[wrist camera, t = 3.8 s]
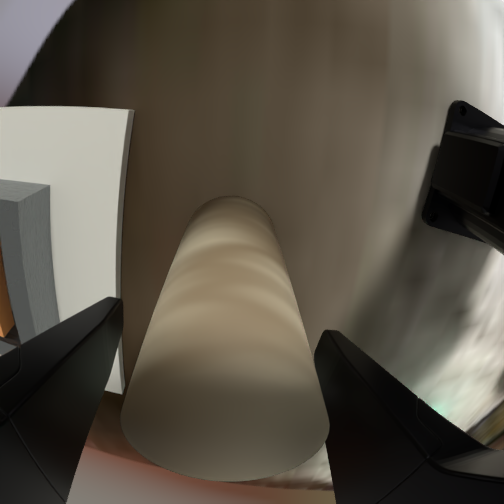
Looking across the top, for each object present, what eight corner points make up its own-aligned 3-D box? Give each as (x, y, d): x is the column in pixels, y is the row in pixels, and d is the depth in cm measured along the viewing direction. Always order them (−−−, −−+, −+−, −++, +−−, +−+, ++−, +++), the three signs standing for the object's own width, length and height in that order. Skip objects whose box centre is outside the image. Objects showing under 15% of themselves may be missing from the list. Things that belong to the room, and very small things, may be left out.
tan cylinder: (284, 205, 14) (364, 381, 5) (264, 285, 15) (293, 483, 6) (192, 188, 13) (111, 350, 4) (181, 271, 15) (128, 466, 6)
